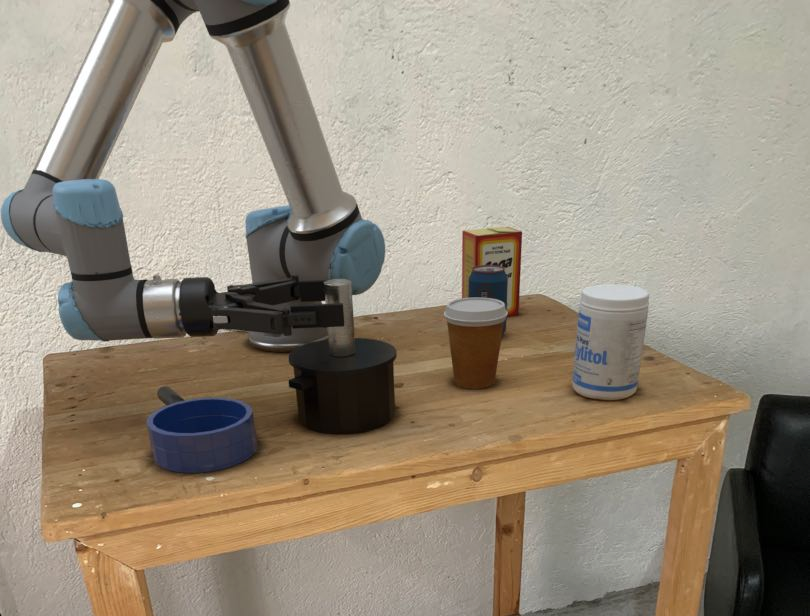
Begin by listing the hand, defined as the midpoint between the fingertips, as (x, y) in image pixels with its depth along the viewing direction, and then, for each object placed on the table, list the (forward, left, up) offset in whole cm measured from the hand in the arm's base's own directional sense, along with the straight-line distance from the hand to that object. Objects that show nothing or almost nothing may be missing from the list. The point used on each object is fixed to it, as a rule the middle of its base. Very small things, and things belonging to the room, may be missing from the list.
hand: (345, 301), depth 105 cm
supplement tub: (+14, +35, -16) cm, 41 cm away
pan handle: (-12, -22, -14) cm, 28 cm away
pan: (-1, -22, -16) cm, 27 cm away
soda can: (-20, +39, -16) cm, 47 cm away
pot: (-1, -1, -16) cm, 16 cm away
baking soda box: (-32, +49, -16) cm, 61 cm away
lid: (-1, -1, -8) cm, 8 cm away
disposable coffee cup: (-1, +22, -16) cm, 28 cm away
